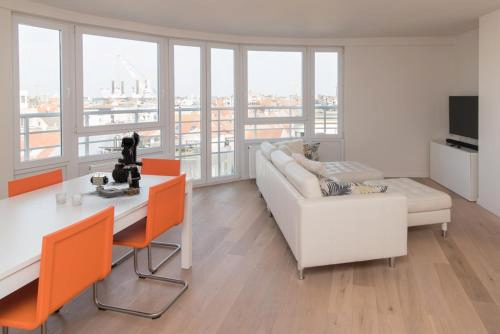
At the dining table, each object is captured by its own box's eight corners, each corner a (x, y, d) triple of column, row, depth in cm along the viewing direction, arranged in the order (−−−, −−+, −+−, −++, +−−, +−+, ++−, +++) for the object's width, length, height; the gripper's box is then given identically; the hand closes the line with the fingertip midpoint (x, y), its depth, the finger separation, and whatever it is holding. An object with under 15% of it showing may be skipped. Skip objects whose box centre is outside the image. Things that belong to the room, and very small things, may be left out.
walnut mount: (132, 191, 309) (132, 187, 308) (139, 193, 302) (139, 189, 301) (120, 193, 303) (120, 189, 302) (128, 195, 296) (127, 191, 295)
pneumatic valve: (106, 191, 307) (105, 175, 306) (90, 191, 309) (89, 174, 307) (109, 190, 313) (108, 173, 311) (94, 189, 314) (93, 173, 312)
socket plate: (114, 191, 307) (114, 187, 306) (124, 195, 297) (124, 190, 297) (98, 194, 298) (98, 190, 298) (108, 197, 289) (108, 193, 288)
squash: (132, 176, 336) (130, 160, 344) (112, 178, 332) (110, 162, 339) (132, 185, 348) (130, 170, 355) (113, 187, 343) (111, 171, 351)
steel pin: (130, 183, 303) (129, 171, 301) (132, 183, 301) (131, 171, 300) (127, 183, 301) (126, 171, 300) (129, 184, 299) (128, 172, 298)
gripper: (134, 152, 310) (135, 174, 312) (110, 155, 297) (111, 177, 299) (142, 154, 302) (143, 176, 305) (118, 156, 289) (119, 179, 292)
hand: (129, 177), depth 300 cm, fingers closed on steel pin, 2 cm apart
